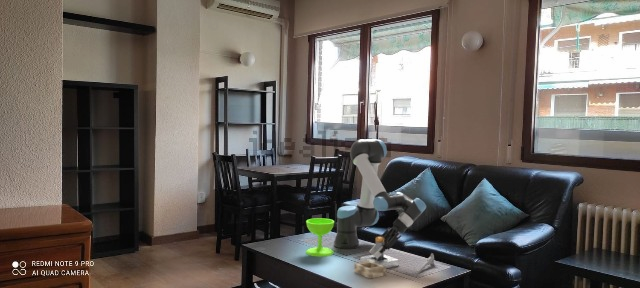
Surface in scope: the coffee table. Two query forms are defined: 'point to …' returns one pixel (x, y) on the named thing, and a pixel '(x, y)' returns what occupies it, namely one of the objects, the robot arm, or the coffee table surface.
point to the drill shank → (378, 244)
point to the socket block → (386, 262)
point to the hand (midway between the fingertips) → (373, 255)
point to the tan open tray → (370, 269)
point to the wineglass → (320, 235)
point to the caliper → (426, 263)
